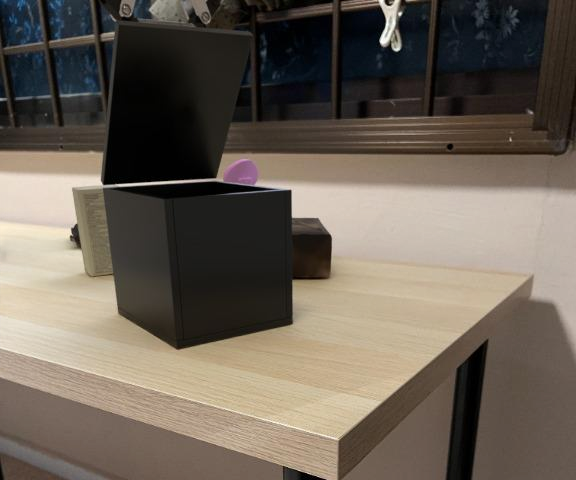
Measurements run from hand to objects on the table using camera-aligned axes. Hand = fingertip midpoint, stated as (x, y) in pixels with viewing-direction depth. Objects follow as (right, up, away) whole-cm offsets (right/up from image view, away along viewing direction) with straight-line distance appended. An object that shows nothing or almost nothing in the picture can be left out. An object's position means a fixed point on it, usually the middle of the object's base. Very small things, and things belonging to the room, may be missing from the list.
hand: (165, 66), depth 61 cm
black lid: (+1, -4, +1) cm, 5 cm away
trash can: (+3, -25, +6) cm, 26 cm away
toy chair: (+4, -10, +41) cm, 42 cm away
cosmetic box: (-14, -15, +29) cm, 36 cm away
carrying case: (-23, -5, +54) cm, 59 cm away
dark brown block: (+14, -14, +32) cm, 38 cm away
